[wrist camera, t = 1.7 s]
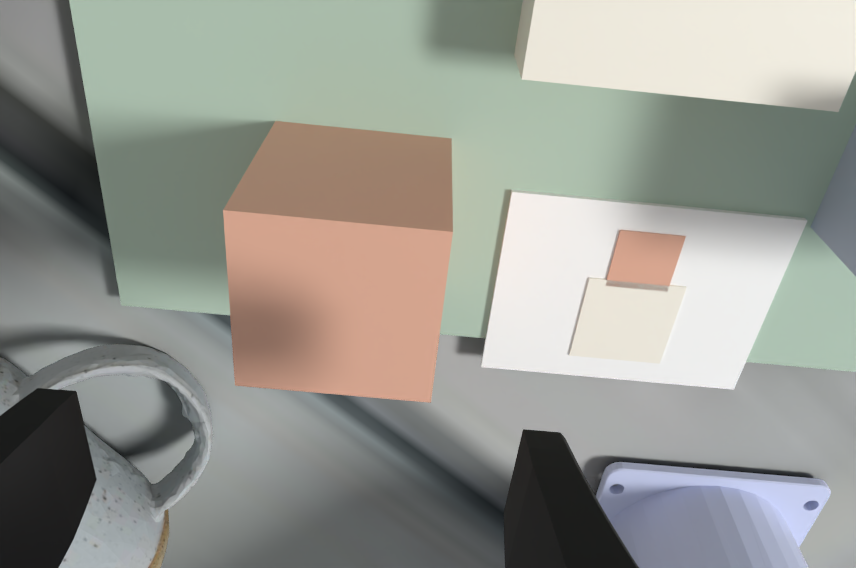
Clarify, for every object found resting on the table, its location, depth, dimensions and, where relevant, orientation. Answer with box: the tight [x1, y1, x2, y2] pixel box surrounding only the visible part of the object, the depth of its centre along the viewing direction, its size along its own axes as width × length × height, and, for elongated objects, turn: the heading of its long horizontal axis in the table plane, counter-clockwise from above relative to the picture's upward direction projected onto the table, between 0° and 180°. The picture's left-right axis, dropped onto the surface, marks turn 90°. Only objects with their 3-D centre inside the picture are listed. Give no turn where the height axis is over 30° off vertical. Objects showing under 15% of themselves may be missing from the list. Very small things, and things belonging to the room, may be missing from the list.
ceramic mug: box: [0, 344, 213, 568], centre depth 21 cm, size 11×8×8 cm
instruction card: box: [481, 189, 807, 389], centre depth 20 cm, size 6×8×1 cm
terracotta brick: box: [223, 121, 453, 403], centre depth 17 cm, size 4×4×5 cm
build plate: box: [69, 0, 856, 372], centre depth 17 cm, size 16×23×1 cm
